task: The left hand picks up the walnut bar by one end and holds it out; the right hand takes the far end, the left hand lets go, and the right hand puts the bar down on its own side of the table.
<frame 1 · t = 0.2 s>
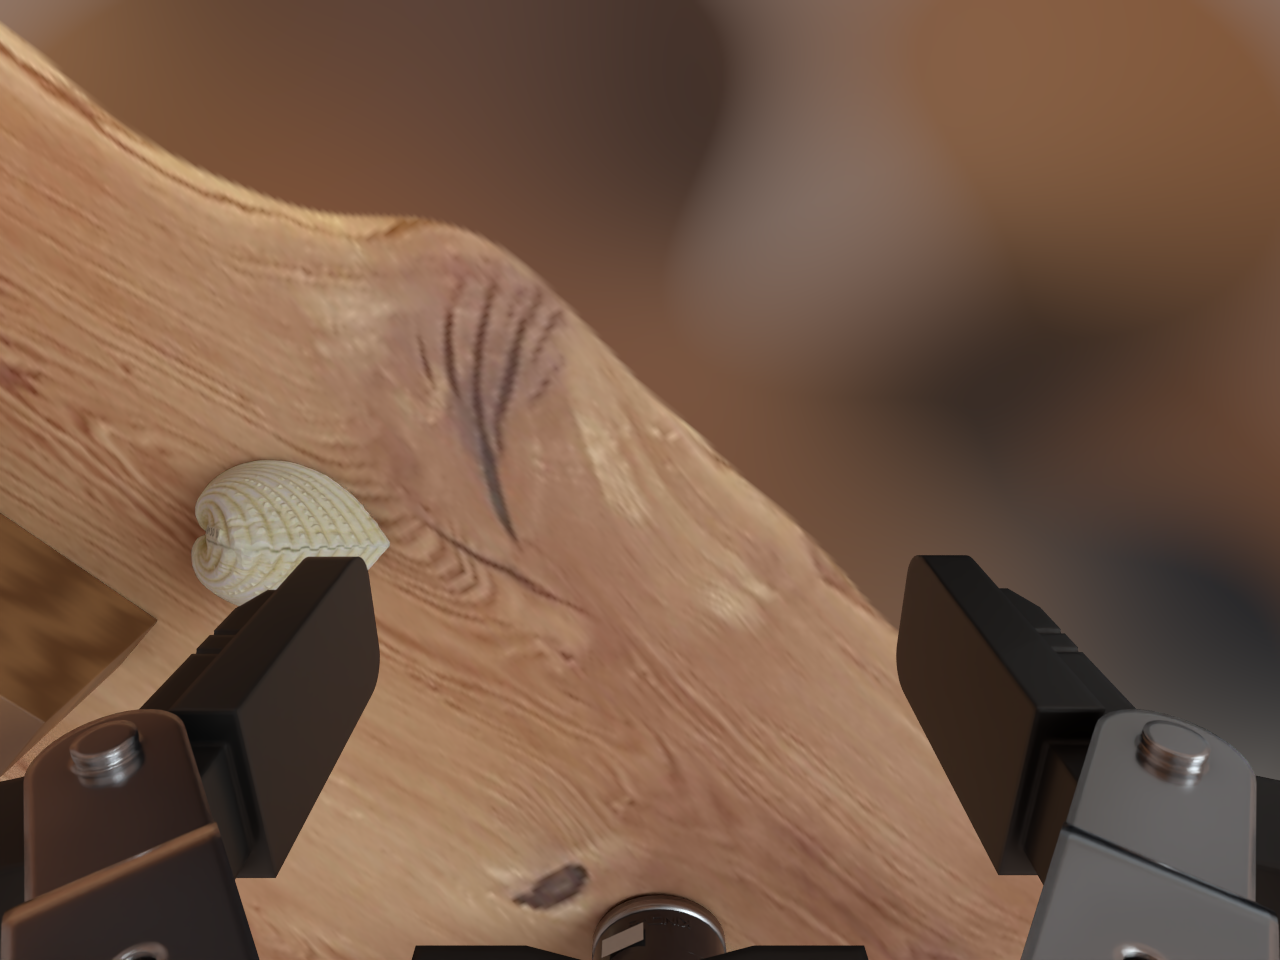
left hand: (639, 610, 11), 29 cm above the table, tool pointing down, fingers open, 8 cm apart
seashell: (295, 526, 43), on the table
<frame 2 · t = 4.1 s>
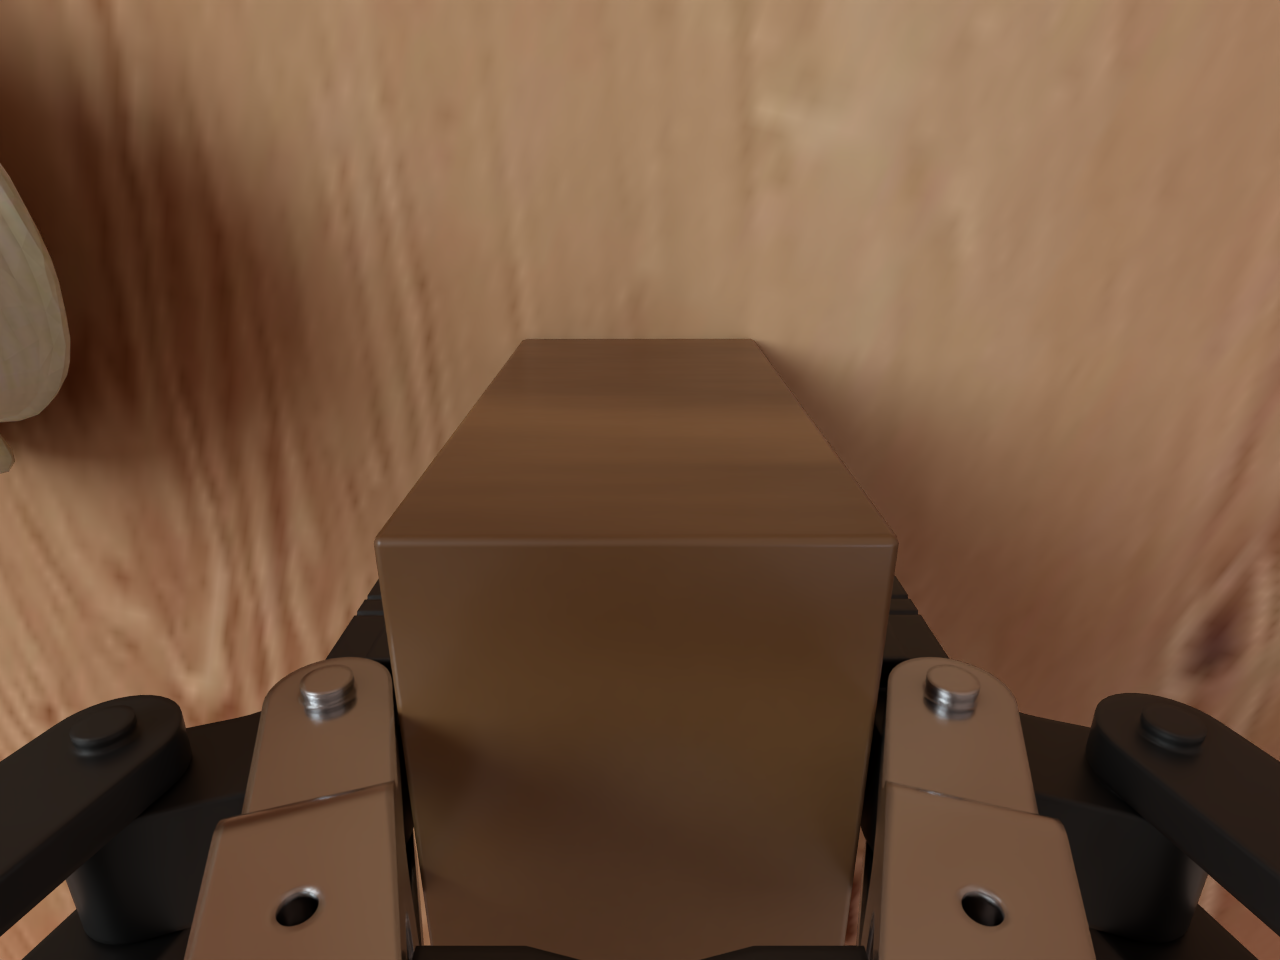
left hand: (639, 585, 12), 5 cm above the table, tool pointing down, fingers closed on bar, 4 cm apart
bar: (639, 813, 20), on the table, touching left hand
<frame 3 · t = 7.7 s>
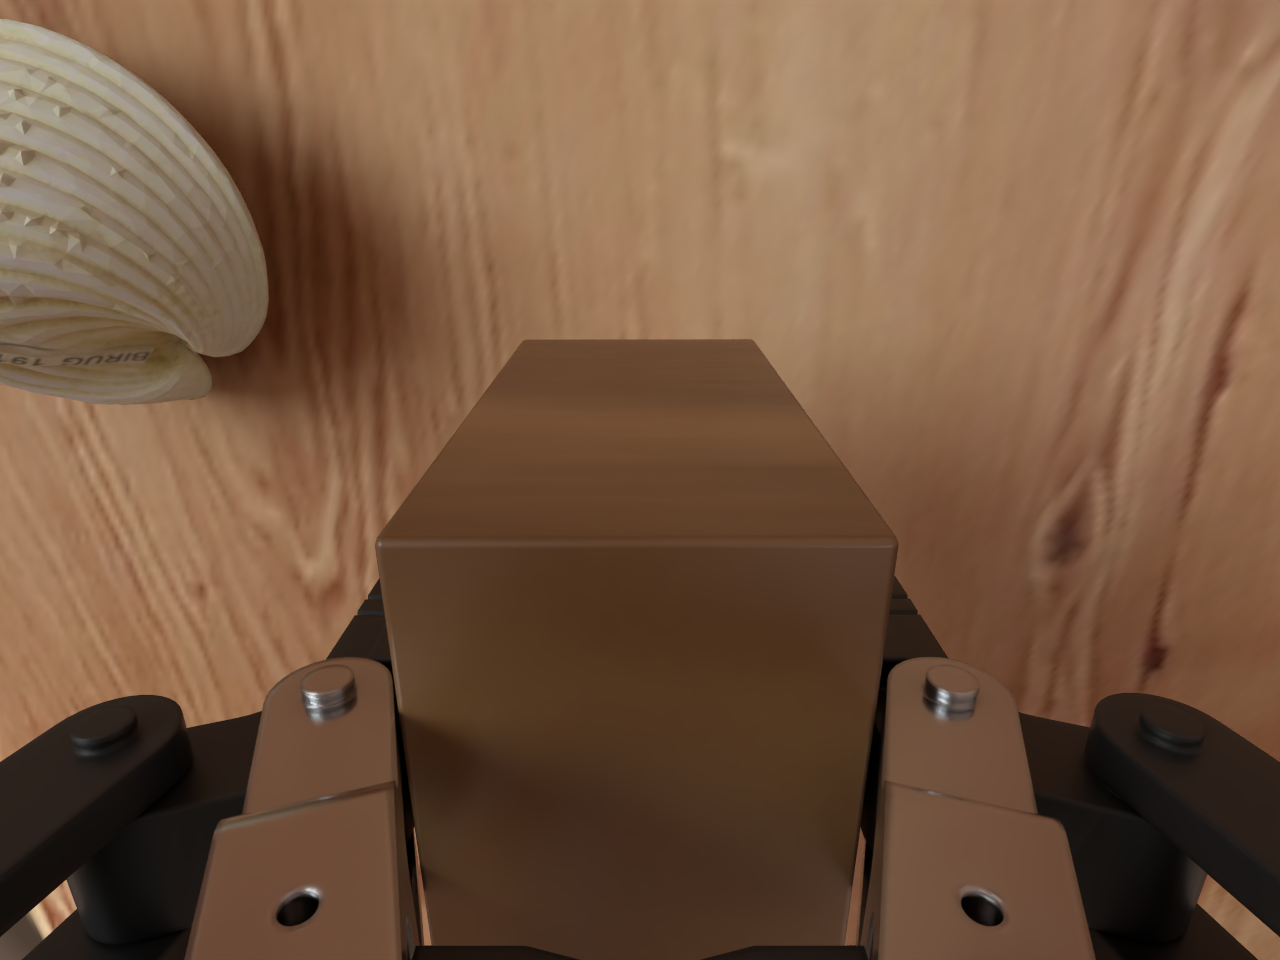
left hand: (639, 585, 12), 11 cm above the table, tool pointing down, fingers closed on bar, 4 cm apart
seashell: (163, 219, 21), on the table
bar: (639, 812, 20), point 7 cm above the table, touching left hand, right hand
when the left hand's fingers open (11 cm above the table, at t = 8.7 s): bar stays where it is, held by the right hand.
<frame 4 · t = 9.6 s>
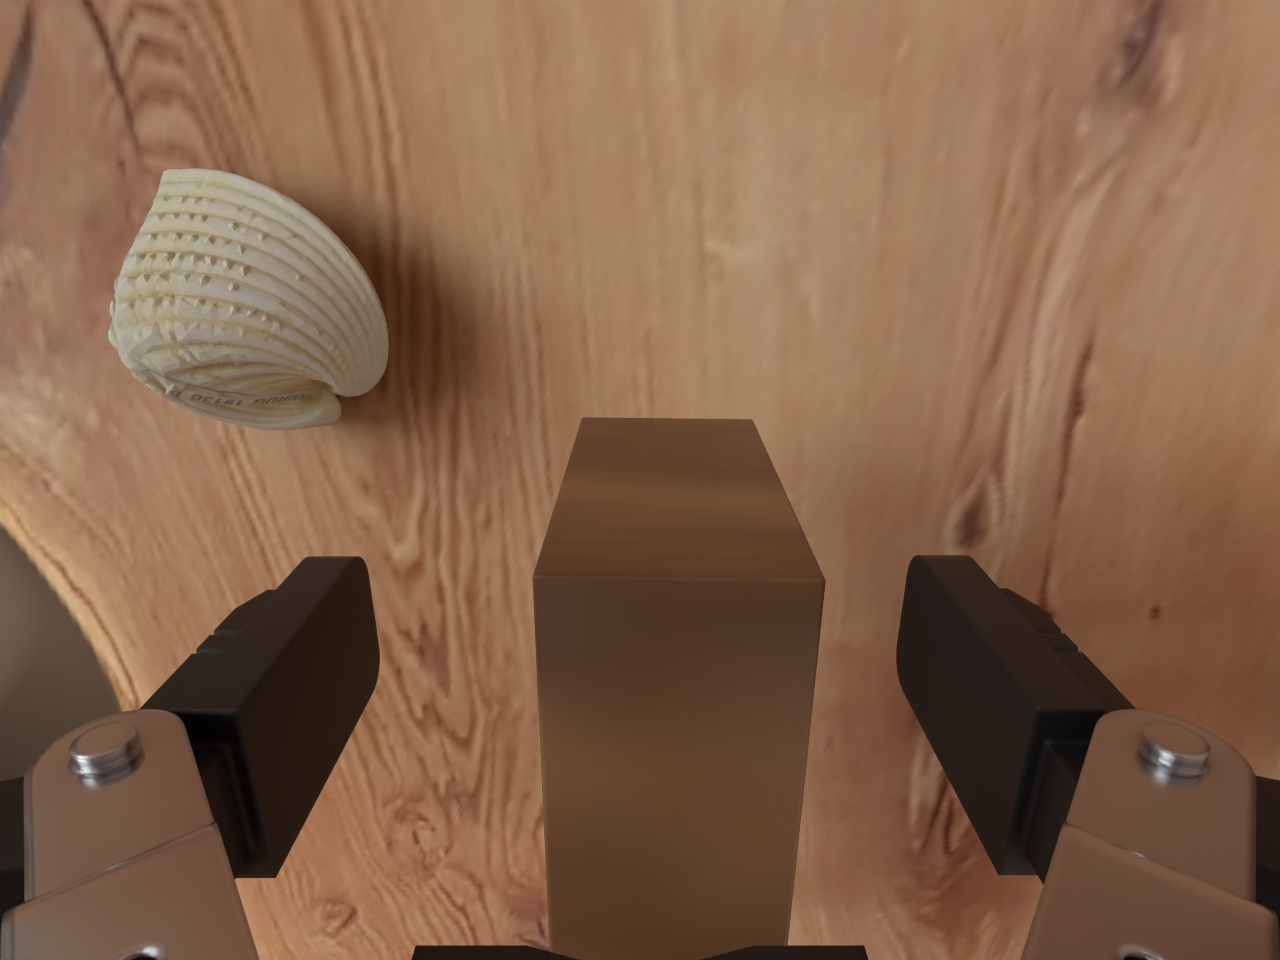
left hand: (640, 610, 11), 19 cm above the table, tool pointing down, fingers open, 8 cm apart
seashell: (303, 296, 29), on the table
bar: (659, 779, 25), point 9 cm above the table, touching right hand
when the right hand's fingers open (6 cm above the table, at t = 12.2 s): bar drops 1 cm, on the table.
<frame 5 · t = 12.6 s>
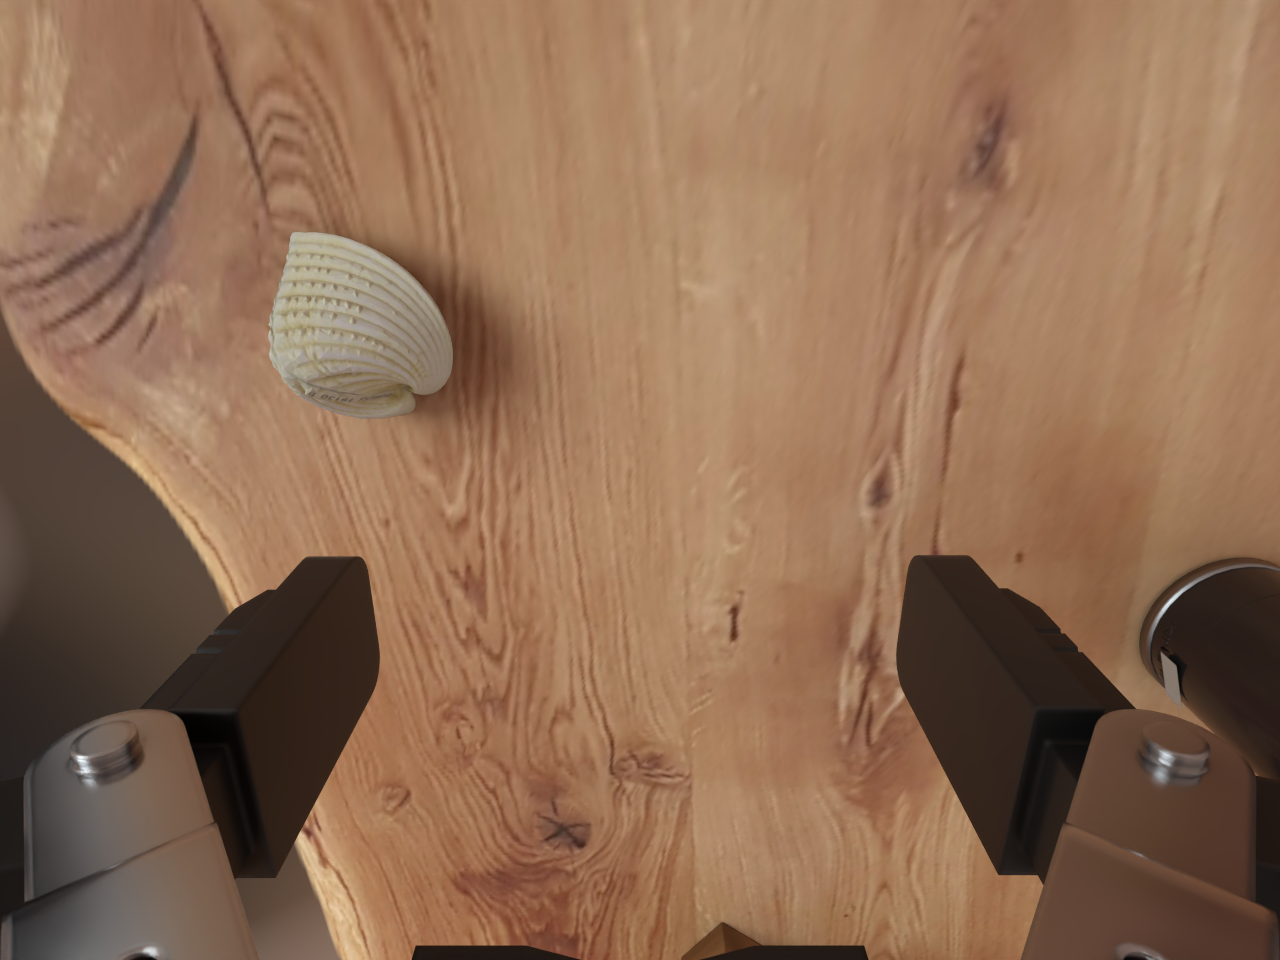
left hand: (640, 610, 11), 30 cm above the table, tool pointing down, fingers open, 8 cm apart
seashell: (385, 320, 39), on the table
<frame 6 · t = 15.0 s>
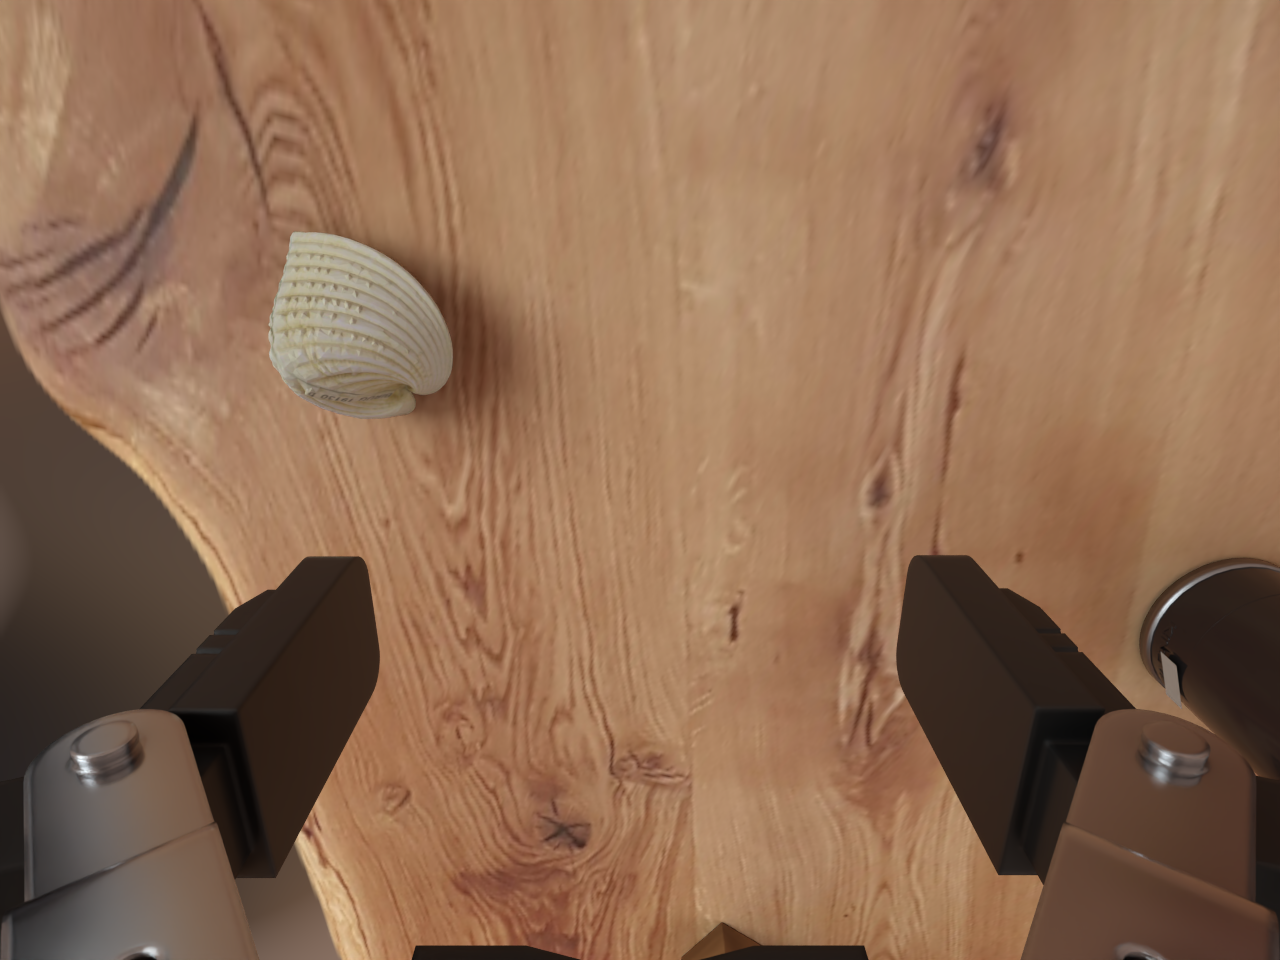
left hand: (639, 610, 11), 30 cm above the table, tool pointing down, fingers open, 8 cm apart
seashell: (385, 320, 39), on the table
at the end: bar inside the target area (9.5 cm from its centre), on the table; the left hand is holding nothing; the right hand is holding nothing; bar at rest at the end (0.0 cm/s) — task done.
